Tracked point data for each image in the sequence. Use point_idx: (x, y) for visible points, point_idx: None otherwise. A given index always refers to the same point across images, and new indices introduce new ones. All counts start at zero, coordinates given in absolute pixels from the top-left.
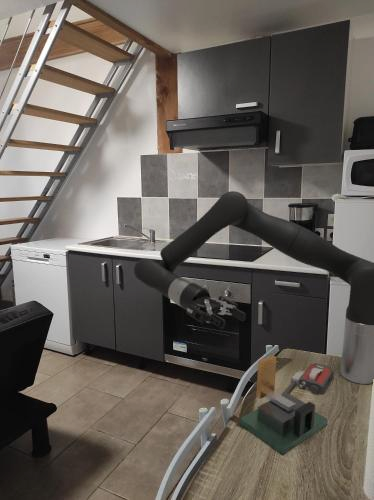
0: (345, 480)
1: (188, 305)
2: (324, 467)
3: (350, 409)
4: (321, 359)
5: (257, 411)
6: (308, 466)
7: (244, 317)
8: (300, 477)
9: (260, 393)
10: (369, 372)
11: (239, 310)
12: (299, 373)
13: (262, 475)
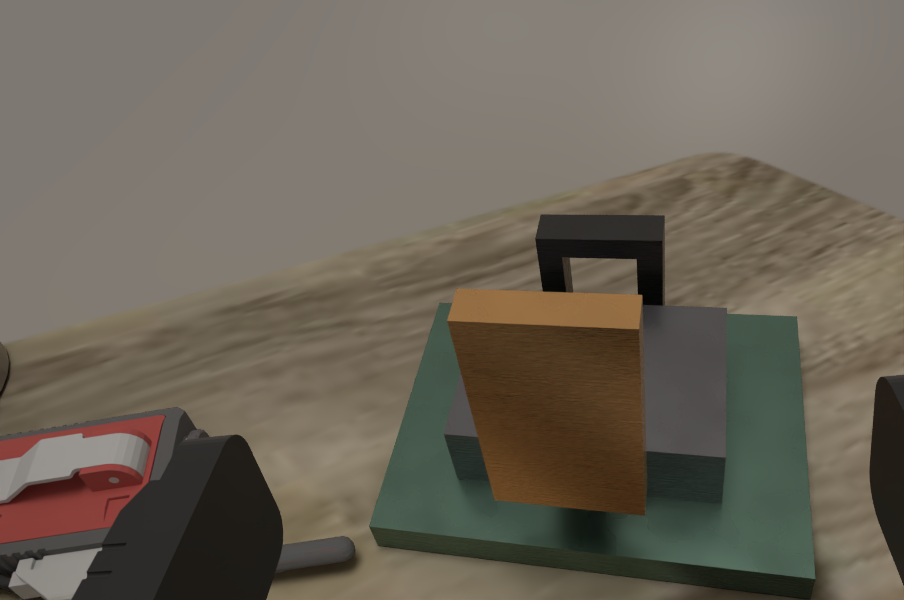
0: (700, 182)
1: None
2: (704, 233)
3: (264, 313)
4: None
5: (659, 542)
6: (752, 261)
7: (247, 471)
8: (831, 253)
9: (646, 462)
10: None
11: (137, 550)
12: (64, 575)
13: None
